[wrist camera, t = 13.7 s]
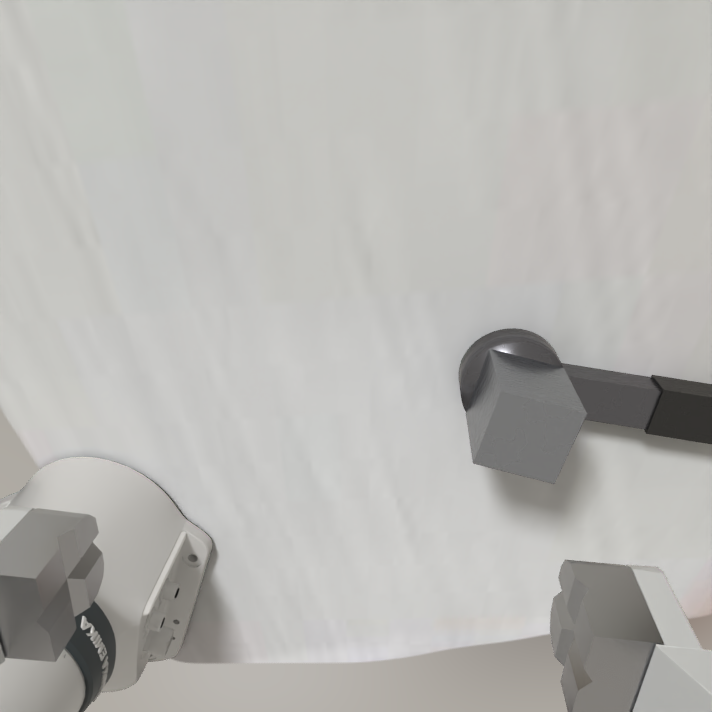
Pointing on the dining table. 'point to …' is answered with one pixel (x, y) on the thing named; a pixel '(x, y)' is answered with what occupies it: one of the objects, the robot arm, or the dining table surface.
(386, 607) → the dining table surface
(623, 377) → the ratchet
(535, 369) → the plain grey cube block
